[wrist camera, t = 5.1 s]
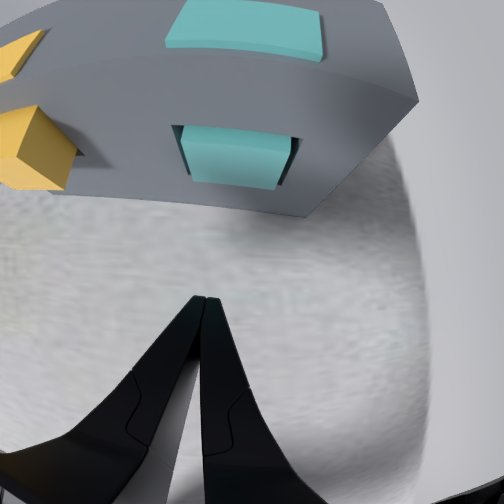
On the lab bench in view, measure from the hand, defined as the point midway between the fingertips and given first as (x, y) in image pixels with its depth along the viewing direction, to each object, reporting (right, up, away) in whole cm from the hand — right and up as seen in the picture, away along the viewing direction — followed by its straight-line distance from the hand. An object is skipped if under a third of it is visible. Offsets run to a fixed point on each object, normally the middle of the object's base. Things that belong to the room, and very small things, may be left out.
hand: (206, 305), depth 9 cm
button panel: (-5, +8, +10) cm, 14 cm away
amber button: (-9, +7, +2) cm, 12 cm away
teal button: (+1, +7, +5) cm, 8 cm away
